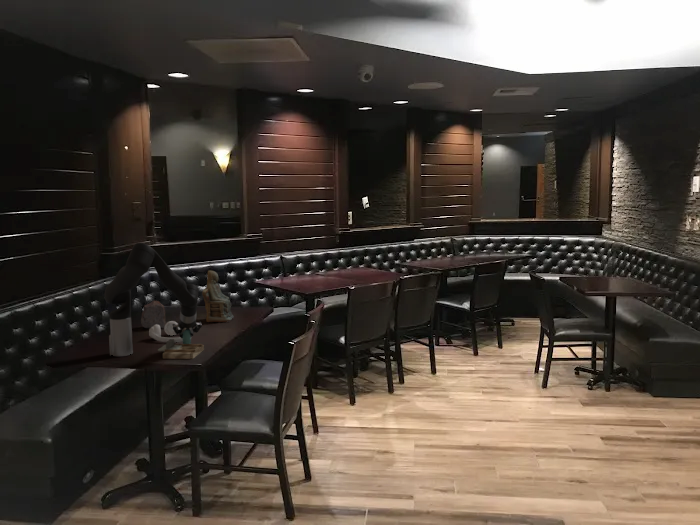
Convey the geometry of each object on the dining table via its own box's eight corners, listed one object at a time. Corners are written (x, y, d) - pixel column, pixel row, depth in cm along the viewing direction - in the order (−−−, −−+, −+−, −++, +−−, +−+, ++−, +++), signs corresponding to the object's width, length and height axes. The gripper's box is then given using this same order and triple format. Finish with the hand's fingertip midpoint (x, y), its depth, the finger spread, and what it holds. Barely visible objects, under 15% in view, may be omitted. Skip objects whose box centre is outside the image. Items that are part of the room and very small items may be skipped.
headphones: (144, 339, 300) (171, 348, 290) (144, 324, 299) (172, 333, 289) (173, 332, 317) (200, 340, 307) (174, 318, 316) (201, 325, 306)
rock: (173, 326, 333) (172, 300, 331) (158, 330, 322) (157, 303, 320) (154, 324, 339) (153, 298, 337) (139, 328, 328) (138, 302, 326)
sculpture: (227, 324, 336) (225, 273, 333) (200, 324, 336) (198, 273, 333) (236, 316, 360) (235, 268, 357) (211, 316, 361) (209, 268, 357)
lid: (158, 351, 269) (157, 342, 268) (164, 346, 277) (164, 338, 277) (175, 351, 268) (175, 343, 268) (182, 346, 277) (181, 338, 276)
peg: (181, 347, 282) (180, 325, 281) (184, 345, 286) (183, 323, 285) (189, 347, 282) (188, 325, 281) (192, 345, 286) (191, 323, 285)
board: (162, 358, 265) (162, 351, 265) (175, 349, 281) (175, 342, 281) (193, 358, 264) (192, 351, 264) (204, 349, 280) (203, 342, 280)
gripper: (173, 324, 268) (171, 344, 281) (204, 321, 273) (201, 341, 286) (171, 310, 273) (170, 331, 285) (202, 308, 278) (200, 328, 290)
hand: (186, 336), depth 285 cm, fingers closed on peg, 3 cm apart
